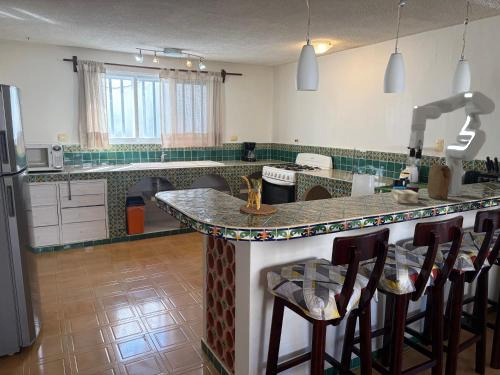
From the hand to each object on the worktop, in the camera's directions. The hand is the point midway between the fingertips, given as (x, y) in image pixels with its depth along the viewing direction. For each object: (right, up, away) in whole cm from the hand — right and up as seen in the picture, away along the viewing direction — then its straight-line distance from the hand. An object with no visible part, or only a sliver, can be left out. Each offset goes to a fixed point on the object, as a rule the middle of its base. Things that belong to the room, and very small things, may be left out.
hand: (415, 157), depth 213 cm
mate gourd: (0, -23, +5) cm, 24 cm away
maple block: (-9, -25, -7) cm, 28 cm away
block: (+15, -24, +3) cm, 28 cm away
